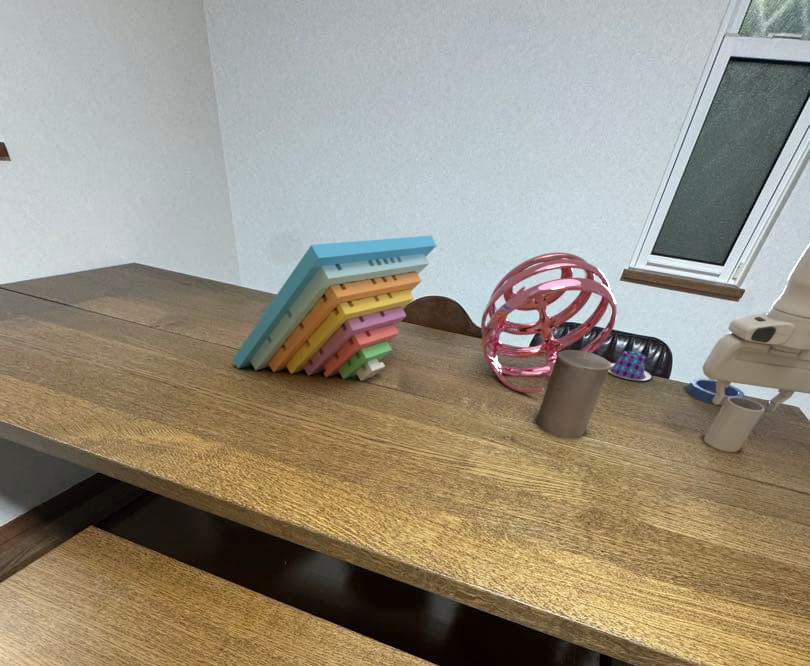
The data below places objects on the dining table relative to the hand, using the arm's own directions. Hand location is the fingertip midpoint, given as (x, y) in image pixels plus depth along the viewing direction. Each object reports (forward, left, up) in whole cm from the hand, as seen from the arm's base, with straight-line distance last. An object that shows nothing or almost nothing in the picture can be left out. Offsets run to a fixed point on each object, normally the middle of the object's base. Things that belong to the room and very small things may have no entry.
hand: (741, 407), depth 86 cm
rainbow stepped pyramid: (+83, -15, -8) cm, 84 cm away
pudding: (+9, -37, -8) cm, 39 cm away
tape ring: (-10, -28, -8) cm, 31 cm away
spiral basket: (+37, -21, -8) cm, 43 cm away
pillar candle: (+33, +2, -8) cm, 34 cm away
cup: (0, 0, -8) cm, 8 cm away
